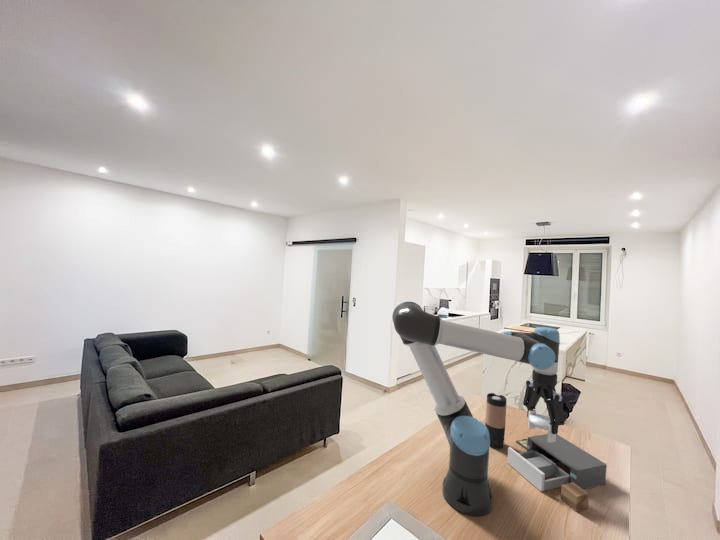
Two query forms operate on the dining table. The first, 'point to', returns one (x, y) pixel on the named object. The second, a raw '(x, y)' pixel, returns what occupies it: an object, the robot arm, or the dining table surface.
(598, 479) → the box
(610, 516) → the dining table surface
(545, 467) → the light grey drawer
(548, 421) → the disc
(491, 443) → the travel mug
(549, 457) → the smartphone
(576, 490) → the walnut block
